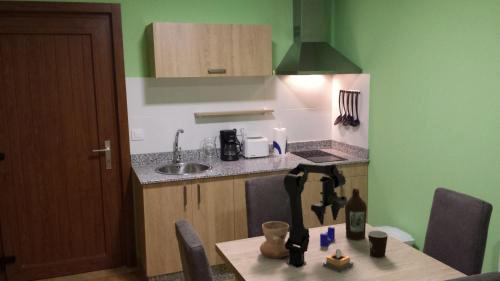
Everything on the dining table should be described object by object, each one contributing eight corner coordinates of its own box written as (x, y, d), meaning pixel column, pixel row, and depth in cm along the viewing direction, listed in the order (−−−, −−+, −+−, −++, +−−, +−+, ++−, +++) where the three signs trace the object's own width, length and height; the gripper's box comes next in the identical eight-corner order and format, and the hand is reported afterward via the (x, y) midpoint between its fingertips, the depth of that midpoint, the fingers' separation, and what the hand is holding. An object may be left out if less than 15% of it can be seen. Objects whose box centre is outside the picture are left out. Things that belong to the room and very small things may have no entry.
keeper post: (340, 272, 187) (340, 255, 186) (323, 265, 194) (323, 249, 193) (353, 266, 193) (353, 249, 192) (336, 260, 200) (336, 243, 199)
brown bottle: (343, 233, 233) (343, 186, 230) (364, 233, 233) (364, 185, 229) (346, 240, 223) (346, 191, 219) (368, 240, 222) (368, 190, 219)
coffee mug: (388, 259, 199) (388, 237, 197) (368, 258, 201) (368, 236, 199) (386, 249, 210) (386, 228, 209) (366, 248, 212) (367, 228, 211)
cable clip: (326, 237, 228) (326, 226, 227) (334, 239, 226) (334, 227, 225) (317, 245, 218) (317, 233, 217) (326, 247, 216) (326, 235, 215)
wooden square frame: (339, 267, 188) (339, 261, 188) (326, 262, 194) (326, 257, 193) (349, 262, 193) (349, 257, 193) (336, 258, 198) (336, 252, 198)
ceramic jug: (292, 262, 199) (292, 230, 197) (259, 262, 199) (259, 230, 198) (290, 247, 217) (290, 218, 215) (260, 247, 217) (259, 218, 215)
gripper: (329, 196, 198) (329, 231, 200) (354, 189, 210) (354, 221, 212) (309, 192, 206) (310, 225, 209) (335, 185, 218) (335, 216, 221)
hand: (328, 222), depth 212 cm, fingers open, 9 cm apart
